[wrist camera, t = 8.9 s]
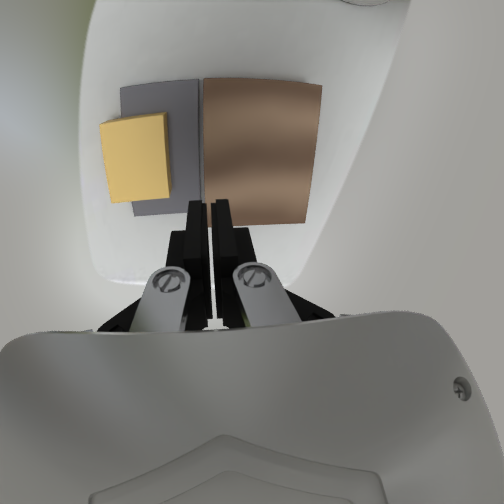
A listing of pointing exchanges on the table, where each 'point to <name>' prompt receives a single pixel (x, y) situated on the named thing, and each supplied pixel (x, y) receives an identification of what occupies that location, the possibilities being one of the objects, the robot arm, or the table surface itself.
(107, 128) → the ochre tile
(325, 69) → the table surface
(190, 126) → the charcoal mat
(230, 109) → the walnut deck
